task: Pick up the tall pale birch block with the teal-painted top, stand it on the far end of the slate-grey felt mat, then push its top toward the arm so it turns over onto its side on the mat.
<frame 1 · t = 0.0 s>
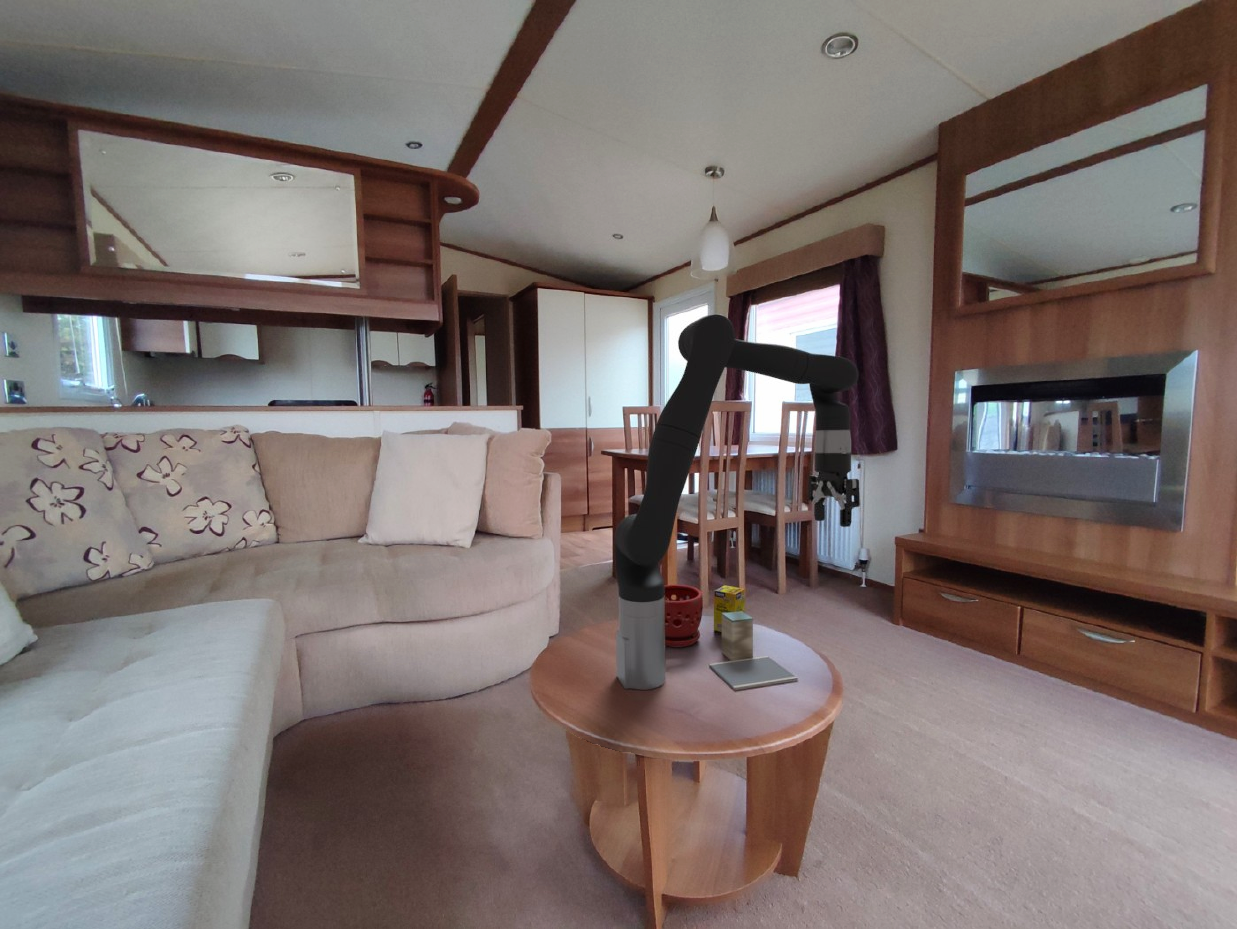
hand: (832, 523, 115), 29 cm above the table, fingers open, 8 cm apart
supplement box: (729, 633, 129), on the table
felt mat: (752, 673, 106), on the table
birch block: (737, 655, 115), on the table
plant pot: (675, 641, 124), on the table
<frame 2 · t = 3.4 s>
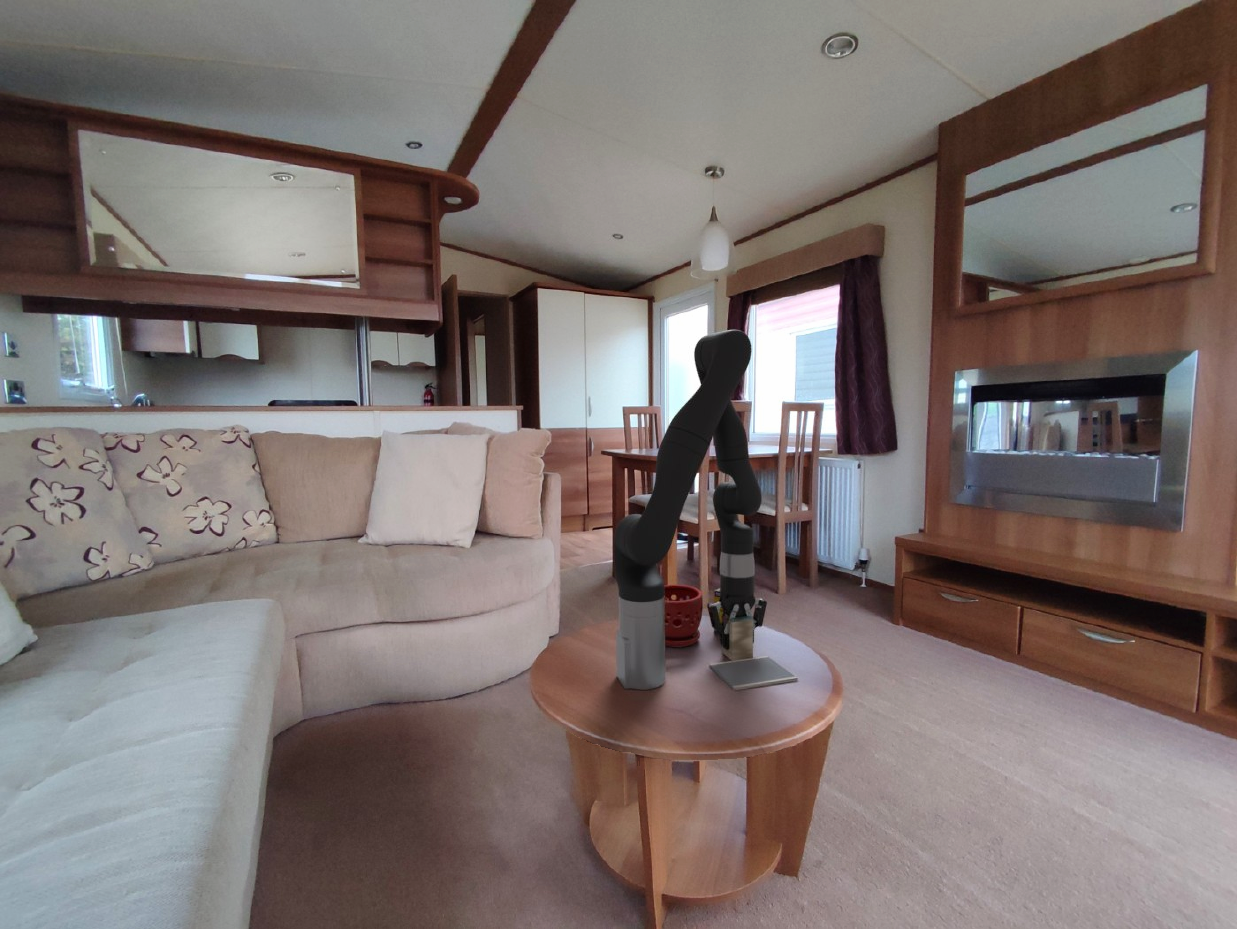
hand: (737, 646, 115), 2 cm above the table, fingers closed on birch block, 5 cm apart
birch block: (737, 655, 115), on the table, touching gripper
everything else where it was.
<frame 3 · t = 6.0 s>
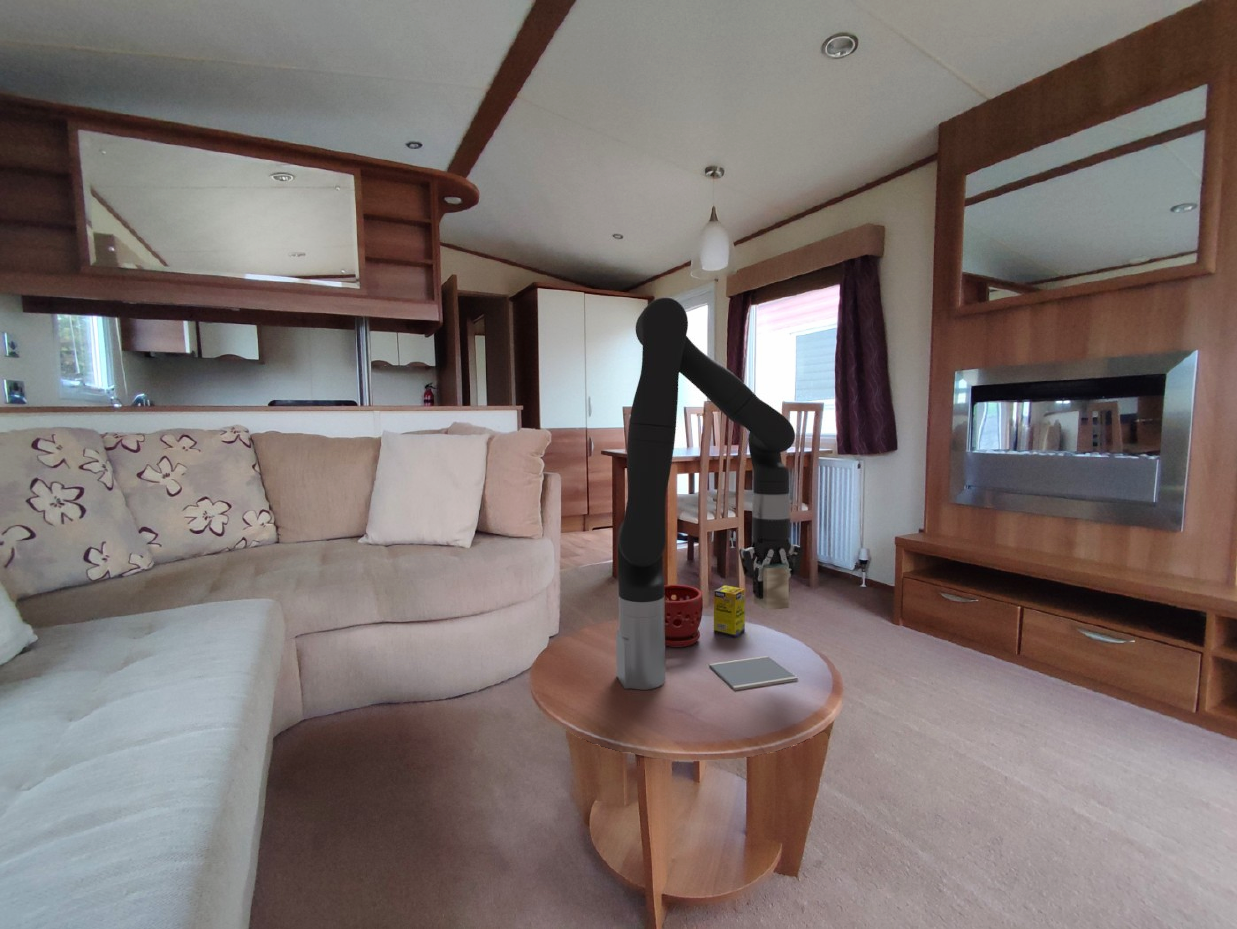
hand: (771, 596, 107), 16 cm above the table, fingers closed on birch block, 5 cm apart
birch block: (771, 605, 107), point 14 cm above the table, touching gripper
everything else where it was.
when the fingers open (3 cm above the table, at t = 8.6 s): birch block stays where it is, resting on felt mat.
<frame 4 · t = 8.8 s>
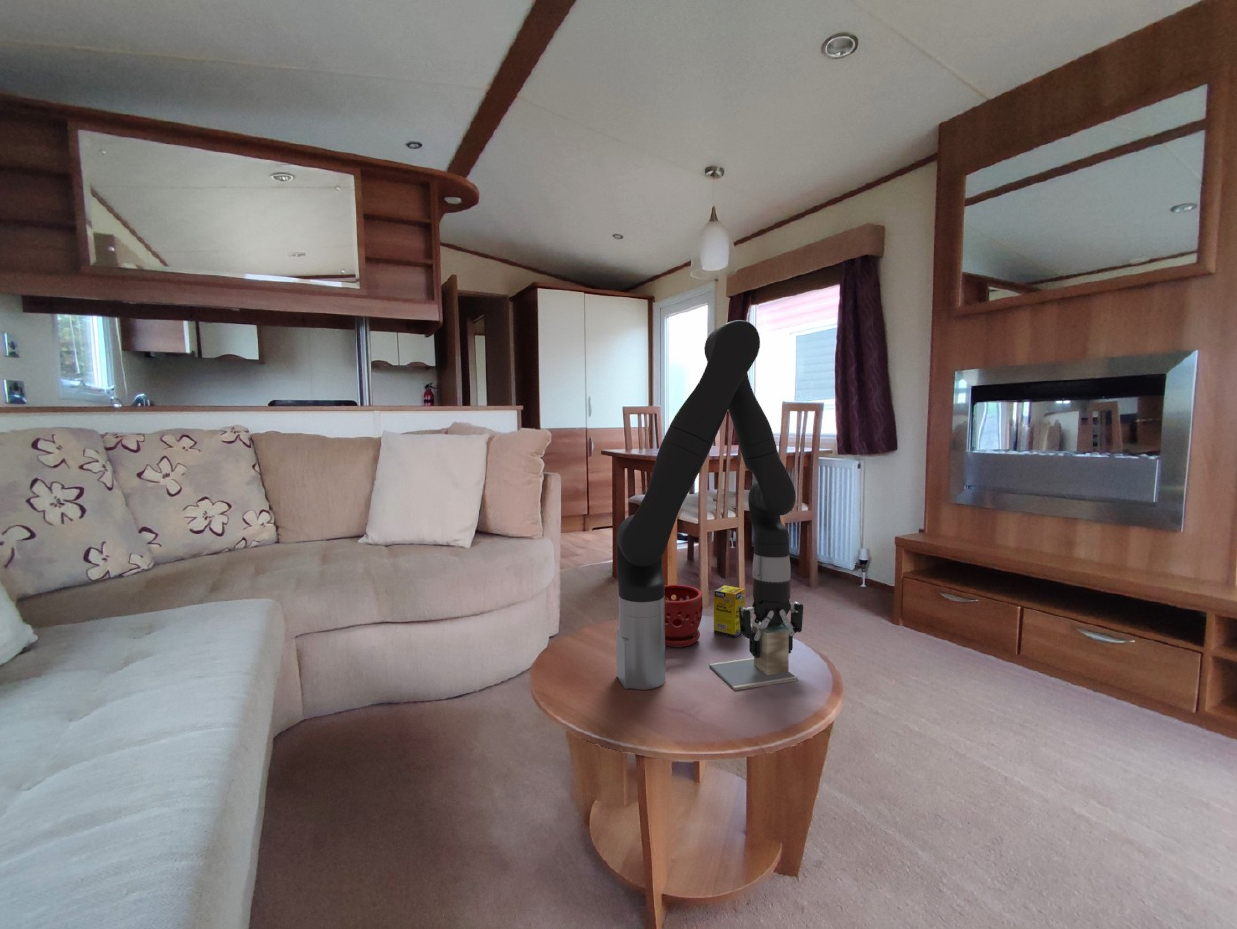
hand: (771, 654, 107), 3 cm above the table, fingers open, 6 cm apart
birch block: (770, 668, 107), resting on felt mat
everything else where it was.
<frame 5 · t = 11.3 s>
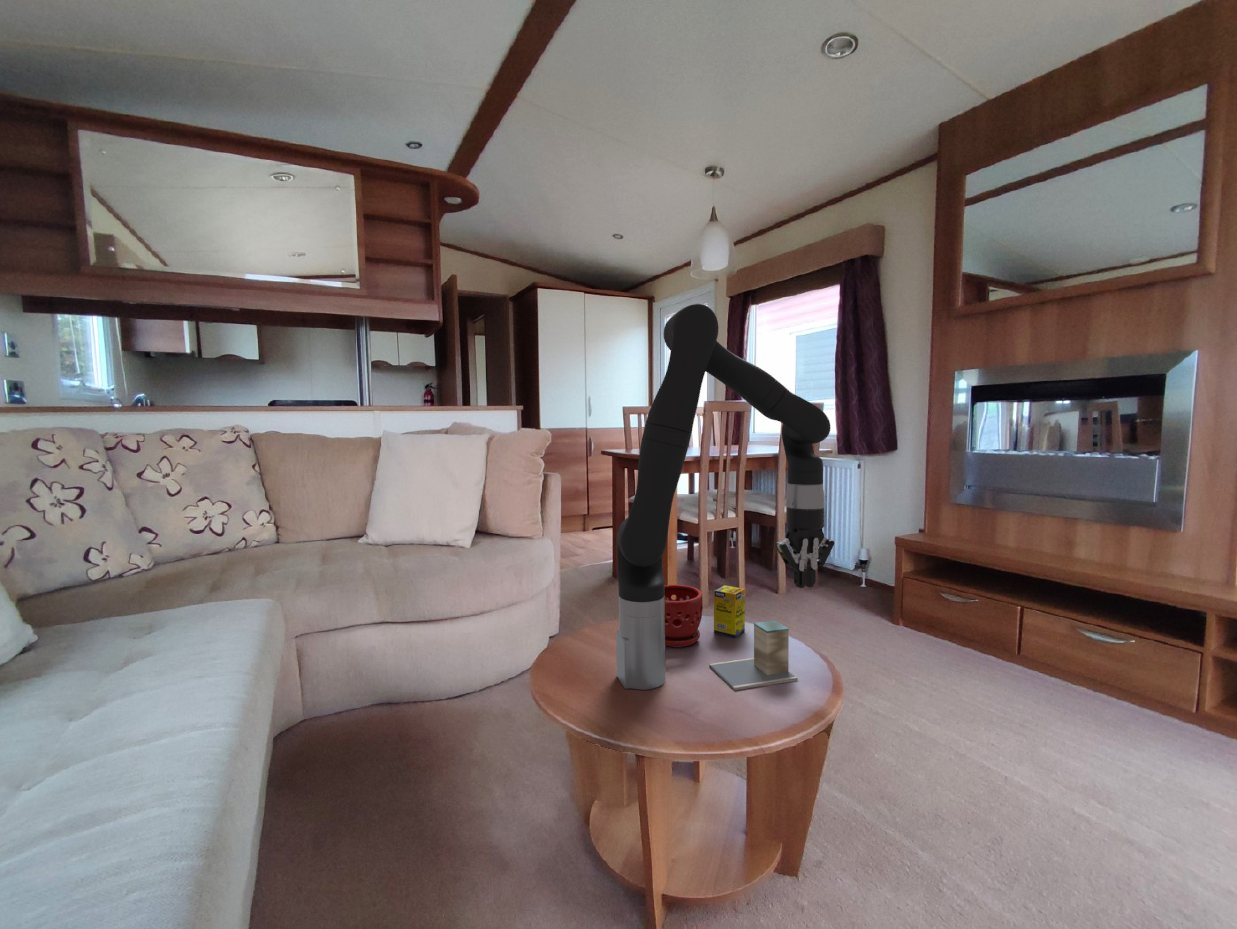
hand: (804, 586, 109), 17 cm above the table, fingers closed
nothing on the table moved.
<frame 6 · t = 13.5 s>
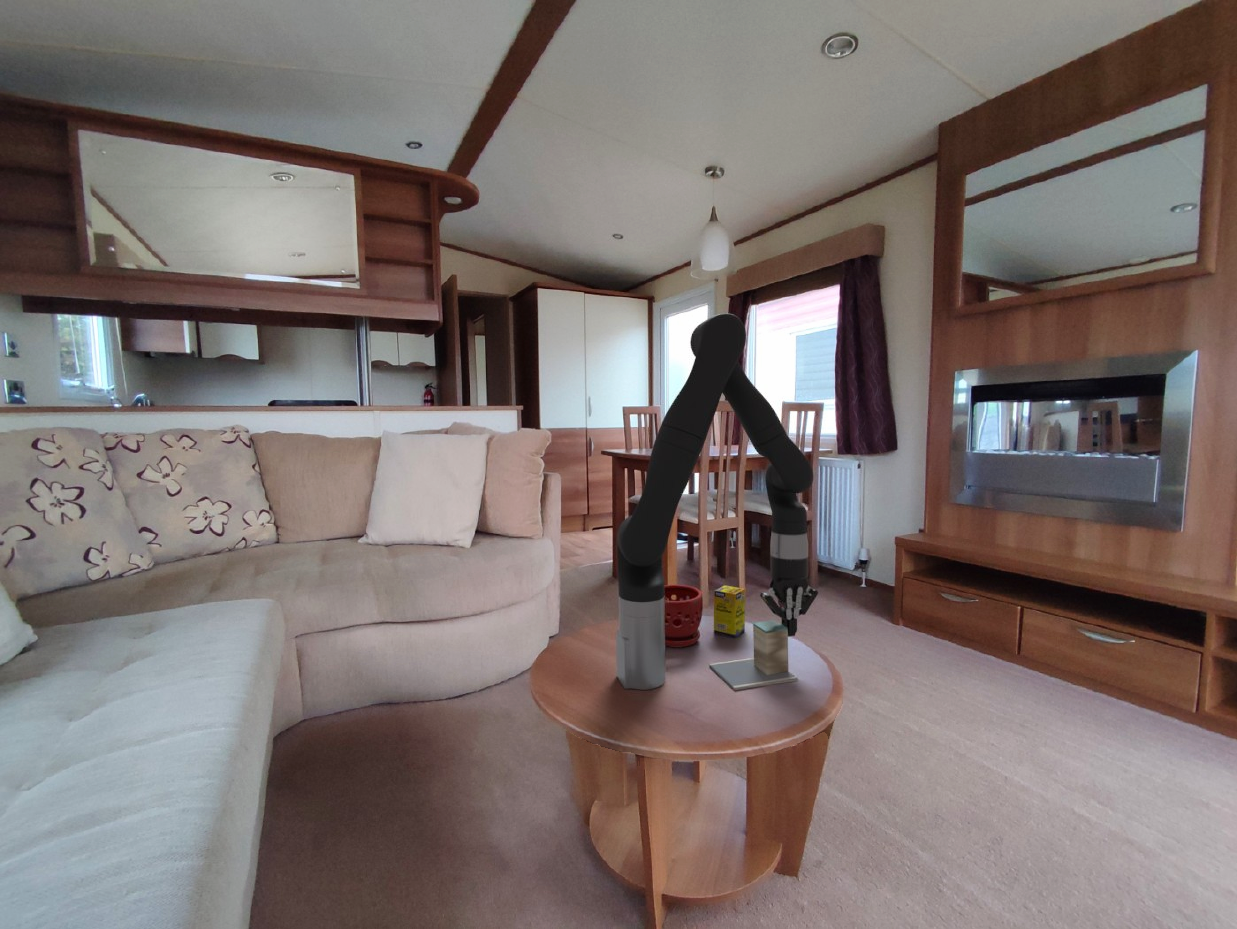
hand: (789, 635, 108), 7 cm above the table, fingers closed
birch block: (770, 667, 107), point 1 cm above the table, touching felt mat, gripper
everything else where it was.
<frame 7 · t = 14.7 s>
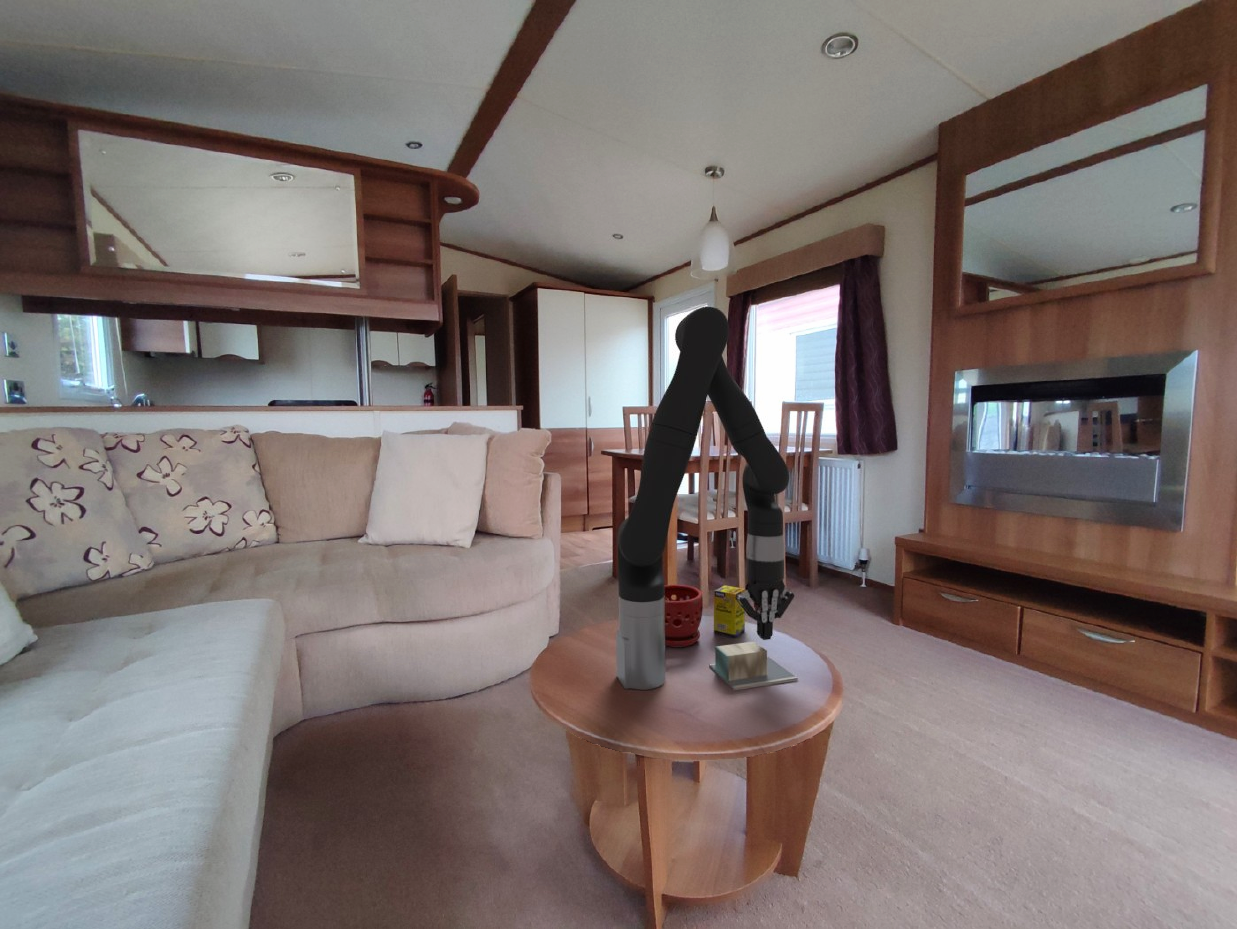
hand: (764, 638, 107), 7 cm above the table, fingers closed
birch block: (760, 657, 106), point 3 cm above the table, tilted 90°, touching felt mat
everything else where it was.
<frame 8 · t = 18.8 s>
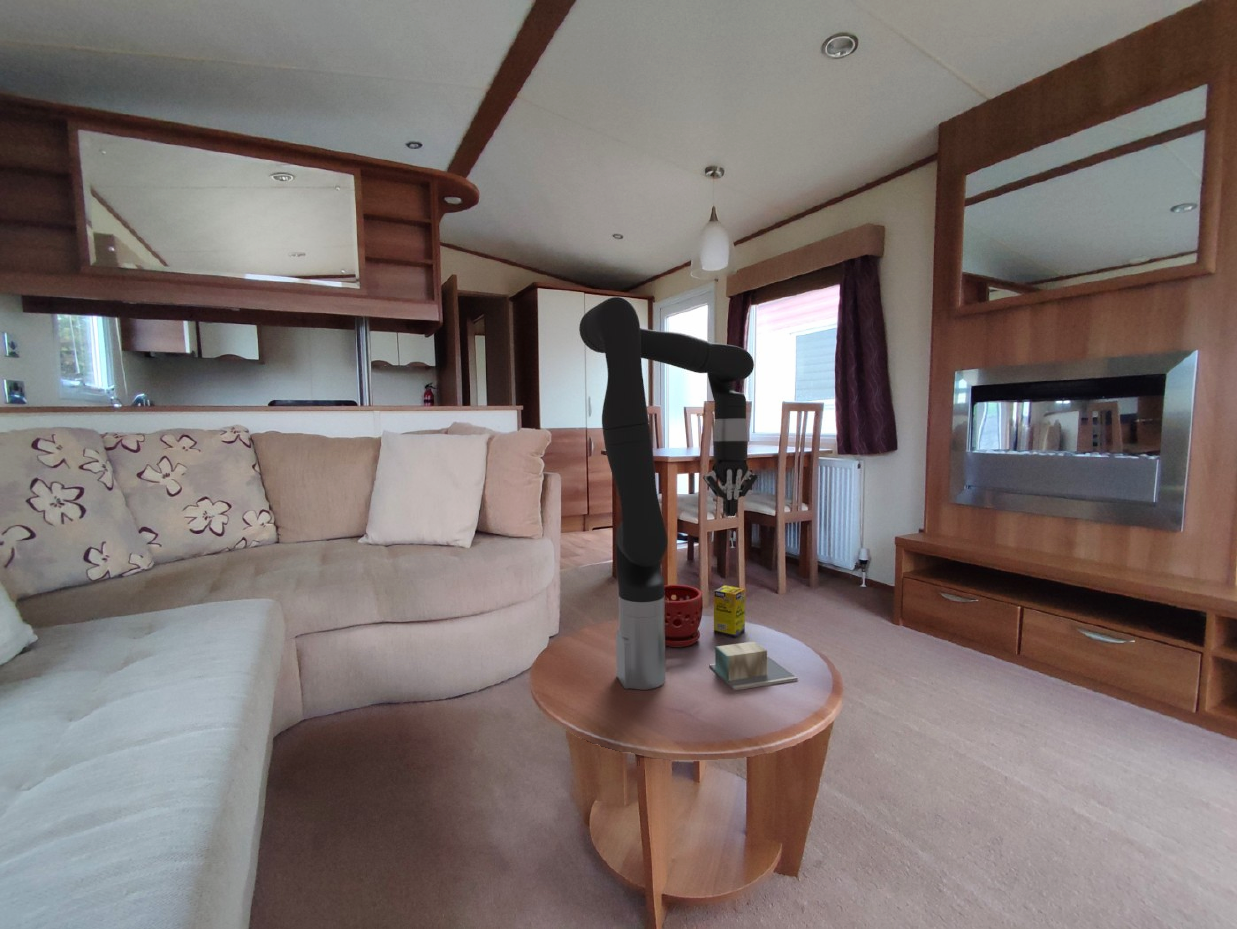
hand: (730, 515, 117), 31 cm above the table, fingers closed
nothing on the table moved.
at the end: birch block tilted 90°; birch block inside the target area (3.4 cm from its centre), point 3.0 cm above the table; the gripper is holding nothing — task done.
